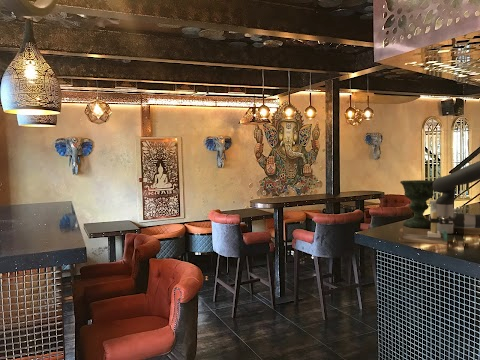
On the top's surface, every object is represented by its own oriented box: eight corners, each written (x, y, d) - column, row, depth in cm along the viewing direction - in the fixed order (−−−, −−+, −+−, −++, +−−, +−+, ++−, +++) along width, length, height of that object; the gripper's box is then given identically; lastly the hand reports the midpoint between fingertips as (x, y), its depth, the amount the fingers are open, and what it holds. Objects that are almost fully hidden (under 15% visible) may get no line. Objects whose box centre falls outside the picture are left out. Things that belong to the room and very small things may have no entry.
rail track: (400, 238, 225) (400, 228, 225) (445, 240, 216) (445, 230, 216) (399, 241, 216) (399, 231, 216) (447, 244, 207) (447, 233, 206)
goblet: (424, 230, 248) (424, 182, 246) (393, 225, 267) (393, 181, 265) (444, 226, 259) (444, 180, 258) (413, 222, 279) (413, 179, 277)
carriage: (427, 234, 218) (427, 211, 217) (439, 235, 216) (439, 211, 215) (428, 237, 212) (428, 212, 211) (440, 237, 209) (440, 213, 209)
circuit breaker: (454, 222, 273) (455, 201, 273) (434, 223, 274) (434, 201, 273) (449, 221, 281) (449, 200, 280) (429, 221, 281) (429, 200, 280)
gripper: (463, 211, 214) (429, 210, 220) (466, 215, 201) (430, 214, 207) (462, 225, 214) (429, 224, 221) (466, 230, 201) (430, 228, 208)
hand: (430, 219), depth 214 cm, fingers open, 8 cm apart
